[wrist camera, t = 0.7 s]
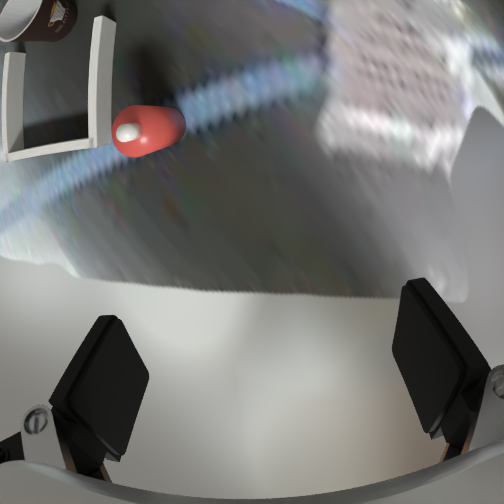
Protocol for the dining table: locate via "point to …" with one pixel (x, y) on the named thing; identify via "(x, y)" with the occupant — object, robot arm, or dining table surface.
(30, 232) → the dining table surface
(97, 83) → the open u-shaped frame
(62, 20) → the coffee mug
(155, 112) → the squeeze bottle
